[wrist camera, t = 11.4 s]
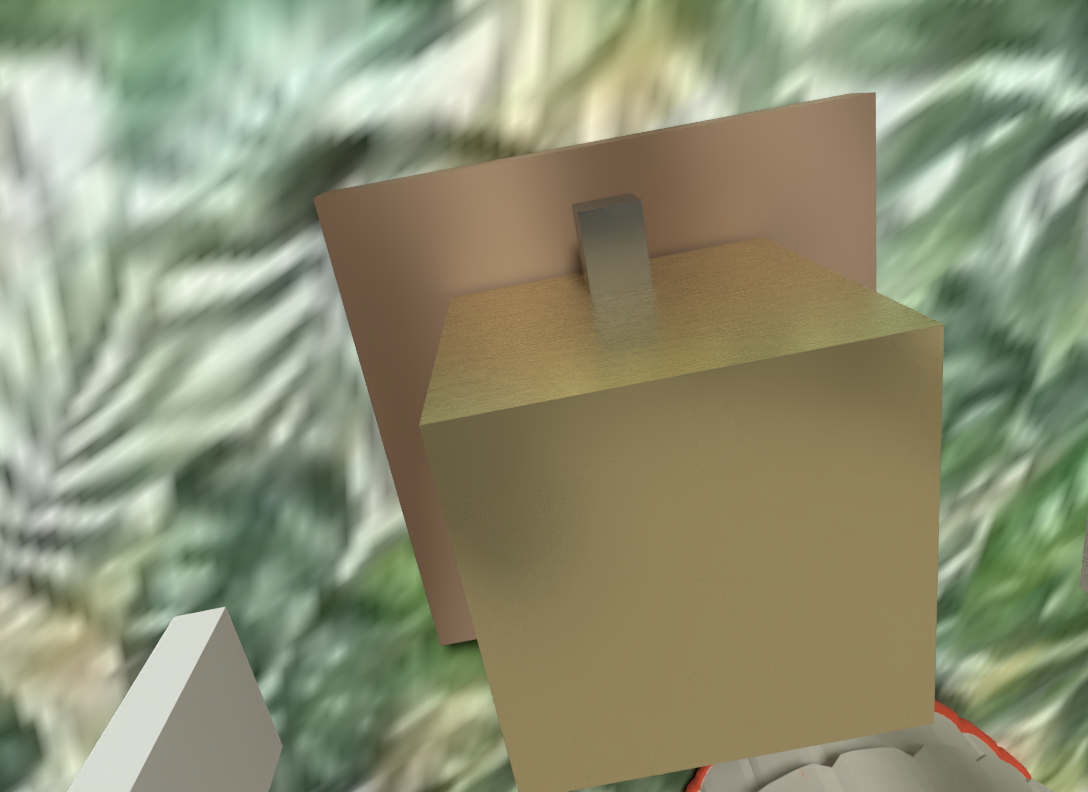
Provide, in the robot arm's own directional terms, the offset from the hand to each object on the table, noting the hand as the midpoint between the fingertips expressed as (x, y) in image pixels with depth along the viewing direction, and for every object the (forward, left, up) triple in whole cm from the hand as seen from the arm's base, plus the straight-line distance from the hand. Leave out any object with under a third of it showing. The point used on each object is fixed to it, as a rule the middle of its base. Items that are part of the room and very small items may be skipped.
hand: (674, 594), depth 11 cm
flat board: (+1, 0, -8) cm, 8 cm away
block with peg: (0, 0, -7) cm, 7 cm away
